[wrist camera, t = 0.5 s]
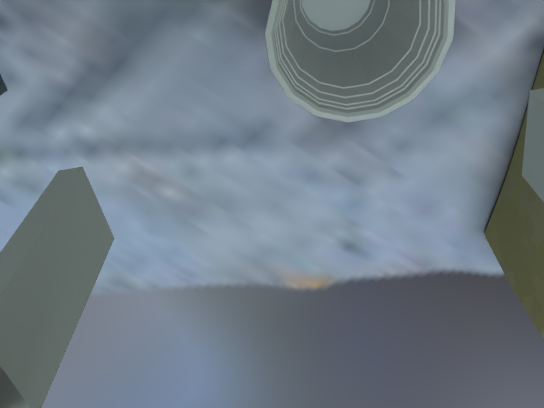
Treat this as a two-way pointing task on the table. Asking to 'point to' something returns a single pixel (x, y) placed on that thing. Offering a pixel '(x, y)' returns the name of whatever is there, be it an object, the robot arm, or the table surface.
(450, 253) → the table surface
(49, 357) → the robot arm
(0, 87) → the grey notched post stand
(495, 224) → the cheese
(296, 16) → the plastic cup
